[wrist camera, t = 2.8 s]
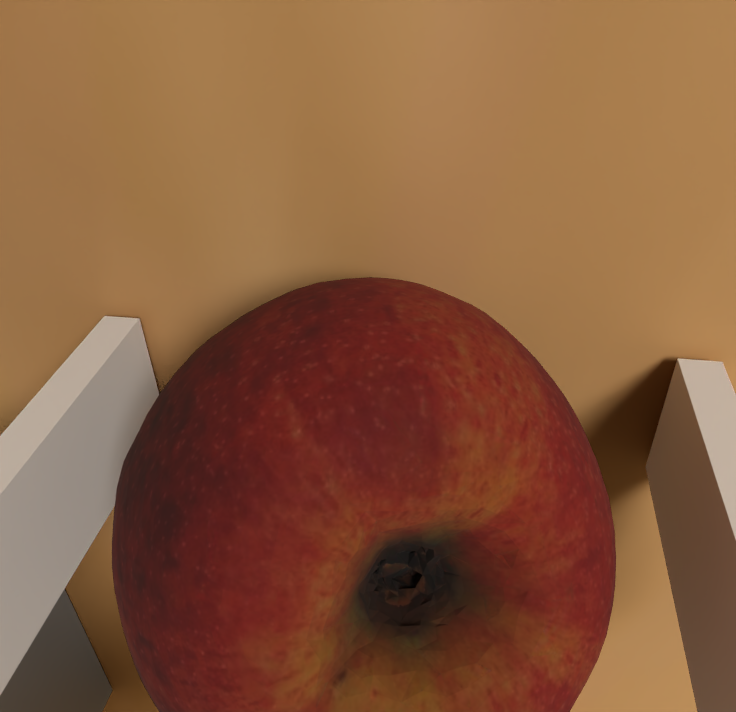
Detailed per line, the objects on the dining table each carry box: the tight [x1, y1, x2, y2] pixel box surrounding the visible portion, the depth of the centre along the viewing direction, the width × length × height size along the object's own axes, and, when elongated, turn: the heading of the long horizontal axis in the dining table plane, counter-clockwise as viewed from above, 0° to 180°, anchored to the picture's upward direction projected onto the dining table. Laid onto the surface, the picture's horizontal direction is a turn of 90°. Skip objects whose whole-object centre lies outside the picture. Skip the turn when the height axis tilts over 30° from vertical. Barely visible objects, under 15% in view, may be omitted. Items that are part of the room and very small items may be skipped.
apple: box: [112, 277, 616, 712], centre depth 11 cm, size 7×8×8 cm
